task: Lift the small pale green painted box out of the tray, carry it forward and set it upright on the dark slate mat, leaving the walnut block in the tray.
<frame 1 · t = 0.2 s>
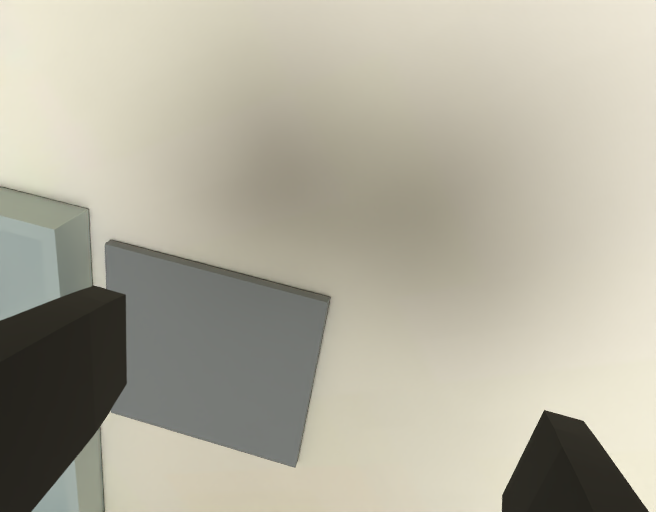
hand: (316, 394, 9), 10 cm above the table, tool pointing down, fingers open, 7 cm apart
mat: (210, 358, 23), on the table
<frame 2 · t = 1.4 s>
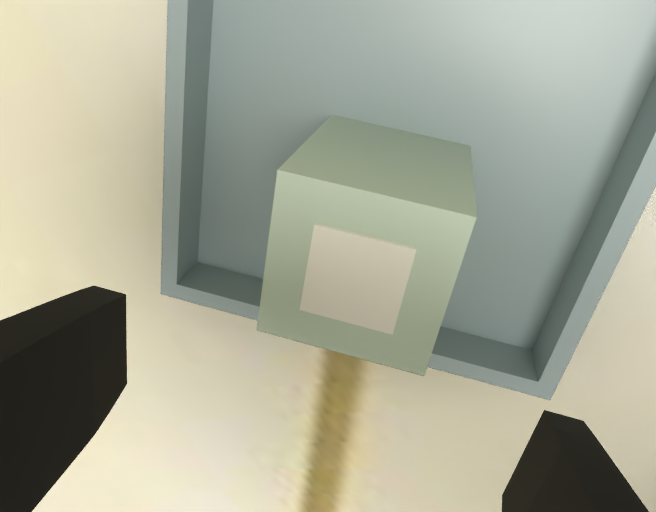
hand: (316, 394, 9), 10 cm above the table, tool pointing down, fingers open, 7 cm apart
pale green box: (384, 195, 18), resting on tray
tray: (426, 19, 16), on the table
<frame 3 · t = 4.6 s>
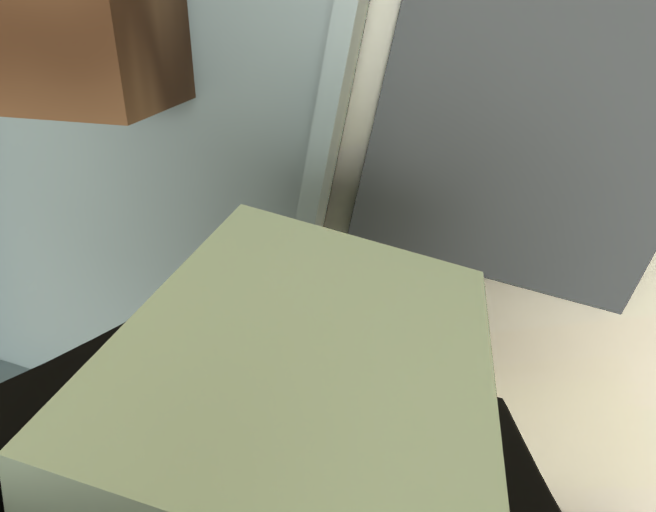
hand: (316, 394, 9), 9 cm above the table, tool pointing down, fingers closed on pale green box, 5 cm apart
pale green box: (333, 335, 11), point 8 cm above the table, touching gripper
walnut block: (128, 26, 16), resting on tray
mat: (529, 139, 16), on the table
tray: (130, 189, 19), on the table
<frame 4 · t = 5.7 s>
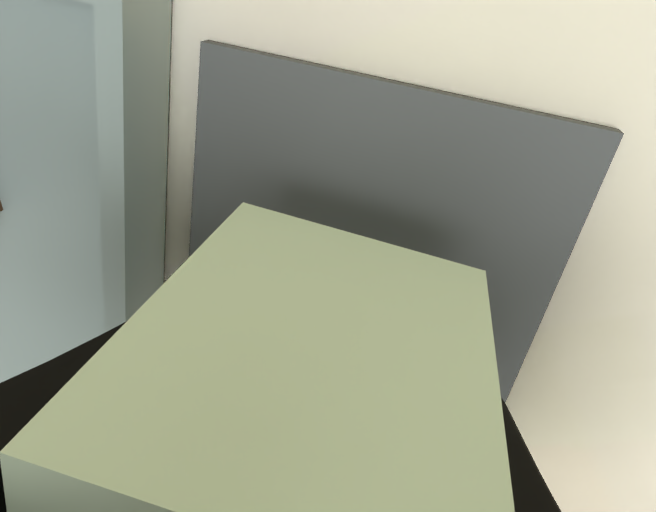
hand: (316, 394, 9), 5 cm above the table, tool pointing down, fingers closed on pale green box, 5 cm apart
pale green box: (335, 334, 11), point 3 cm above the table, touching gripper
mat: (362, 262, 14), on the table
when the fingers open (3 cm above the table, at t = 6.6 s): pale green box stays where it is, resting on mat.
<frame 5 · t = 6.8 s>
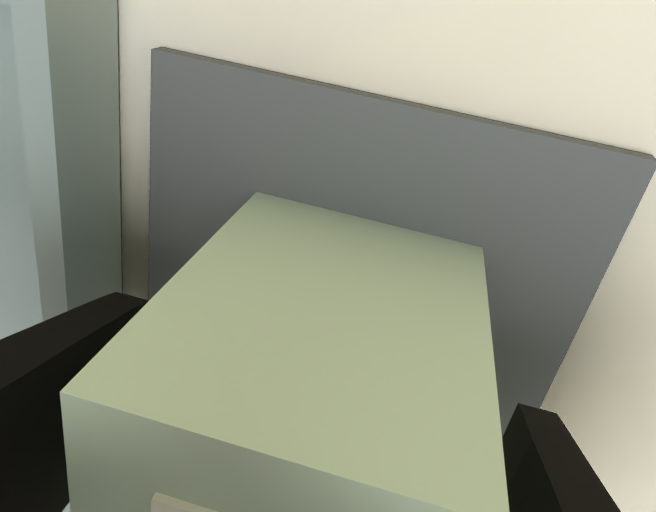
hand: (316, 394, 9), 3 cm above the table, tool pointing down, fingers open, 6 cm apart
pale green box: (345, 313, 11), resting on mat
mat: (347, 304, 12), on the table
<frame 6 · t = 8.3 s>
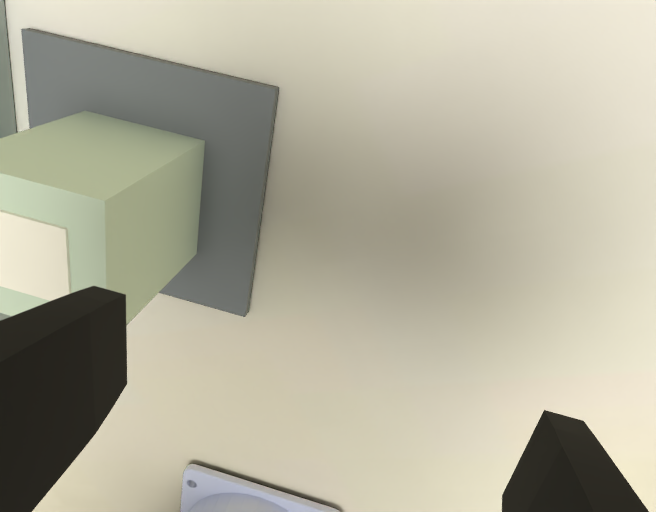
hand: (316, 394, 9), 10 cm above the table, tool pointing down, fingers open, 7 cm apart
pale green box: (143, 185, 20), resting on mat
mat: (148, 181, 20), on the table
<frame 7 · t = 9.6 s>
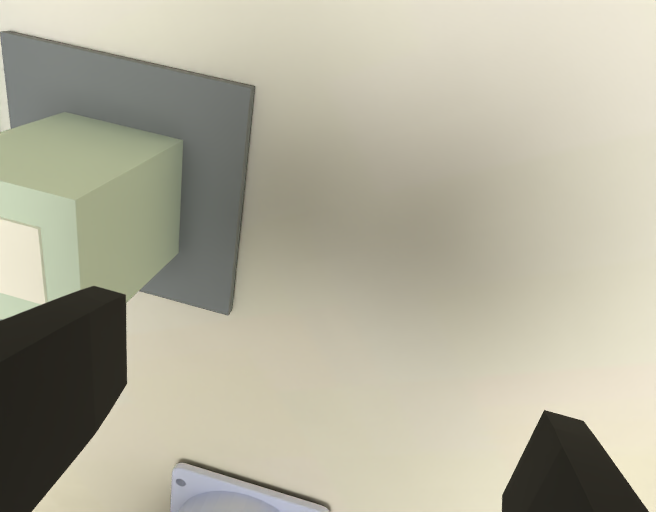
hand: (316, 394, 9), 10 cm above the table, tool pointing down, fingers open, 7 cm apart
pale green box: (124, 185, 20), resting on mat
mat: (129, 181, 20), on the table
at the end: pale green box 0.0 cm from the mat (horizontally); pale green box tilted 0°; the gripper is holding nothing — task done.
